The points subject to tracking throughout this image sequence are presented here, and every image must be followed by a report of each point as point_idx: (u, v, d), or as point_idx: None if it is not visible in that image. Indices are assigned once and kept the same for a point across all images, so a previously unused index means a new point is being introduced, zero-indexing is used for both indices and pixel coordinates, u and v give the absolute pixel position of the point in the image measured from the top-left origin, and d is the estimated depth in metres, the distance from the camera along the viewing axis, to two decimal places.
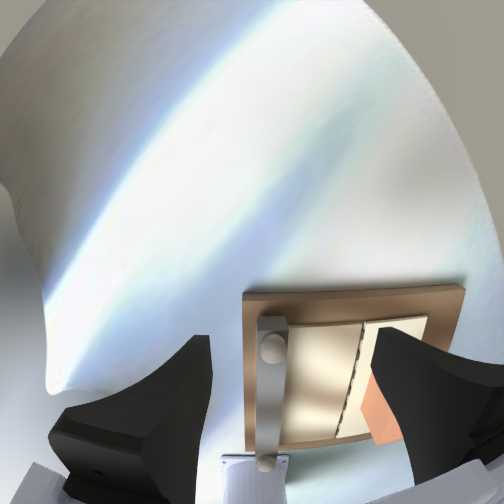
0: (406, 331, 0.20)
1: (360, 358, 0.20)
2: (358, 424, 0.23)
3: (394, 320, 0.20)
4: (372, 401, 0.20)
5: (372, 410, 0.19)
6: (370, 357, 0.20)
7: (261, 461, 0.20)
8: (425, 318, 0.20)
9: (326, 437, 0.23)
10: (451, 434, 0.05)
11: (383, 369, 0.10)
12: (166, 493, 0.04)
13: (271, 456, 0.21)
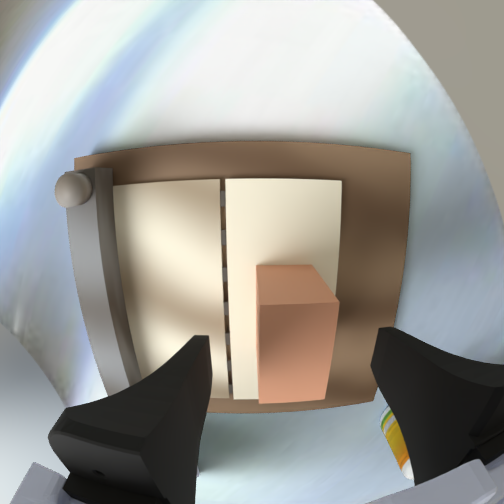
0: (305, 200, 0.14)
1: (229, 242, 0.15)
2: None
3: None
4: None
5: None
6: (247, 242, 0.15)
7: None
8: (338, 182, 0.14)
9: (217, 395, 0.17)
10: (451, 434, 0.05)
11: (383, 369, 0.10)
12: (166, 493, 0.04)
13: None
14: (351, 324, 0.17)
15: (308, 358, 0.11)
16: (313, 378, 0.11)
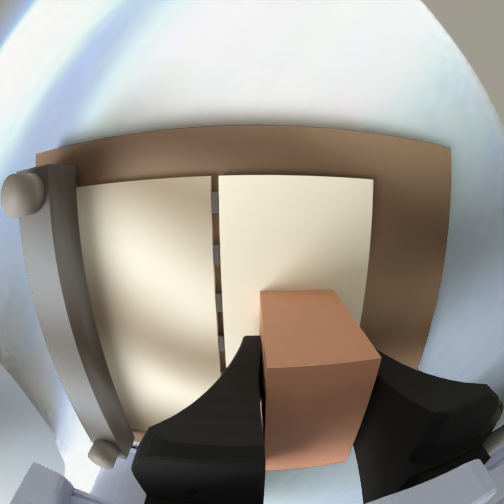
0: (326, 205, 0.10)
1: (223, 261, 0.11)
2: None
3: None
4: None
5: (261, 387, 0.10)
6: (248, 261, 0.11)
7: (92, 447, 0.11)
8: (368, 181, 0.10)
9: None
10: (393, 455, 0.05)
11: None
12: None
13: (109, 443, 0.11)
14: None
15: (332, 425, 0.07)
16: (335, 444, 0.07)
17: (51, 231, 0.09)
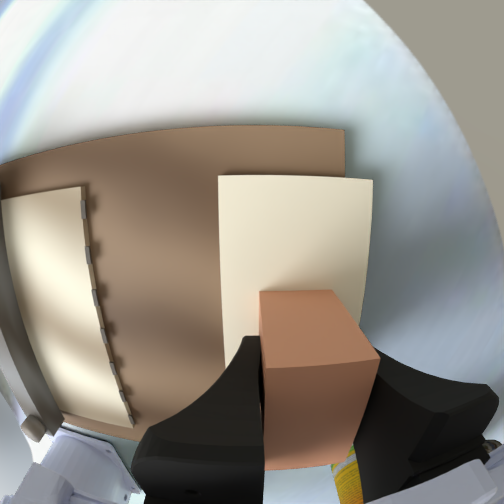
0: (326, 206, 0.10)
1: (223, 261, 0.11)
2: None
3: None
4: None
5: None
6: (247, 261, 0.11)
7: (24, 421, 0.11)
8: (368, 182, 0.10)
9: (120, 423, 0.13)
10: (393, 455, 0.05)
11: None
12: (262, 498, 0.04)
13: (37, 419, 0.11)
14: None
15: (330, 425, 0.07)
16: (334, 444, 0.07)
17: None
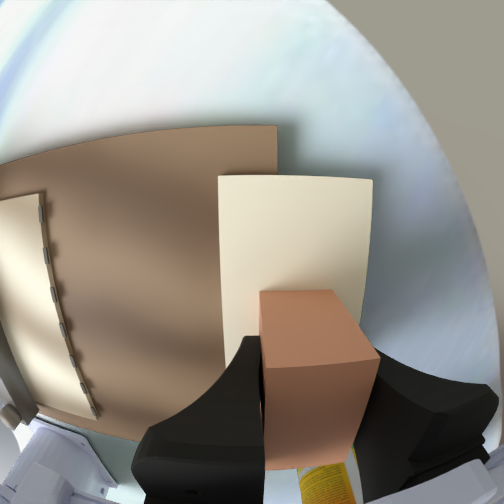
0: (325, 205, 0.10)
1: (223, 261, 0.11)
2: None
3: None
4: None
5: None
6: (247, 261, 0.11)
7: (2, 410, 0.11)
8: (368, 181, 0.10)
9: (85, 415, 0.13)
10: (393, 455, 0.05)
11: None
12: (262, 499, 0.04)
13: (13, 408, 0.11)
14: (206, 365, 0.13)
15: (330, 425, 0.07)
16: (334, 444, 0.07)
17: None
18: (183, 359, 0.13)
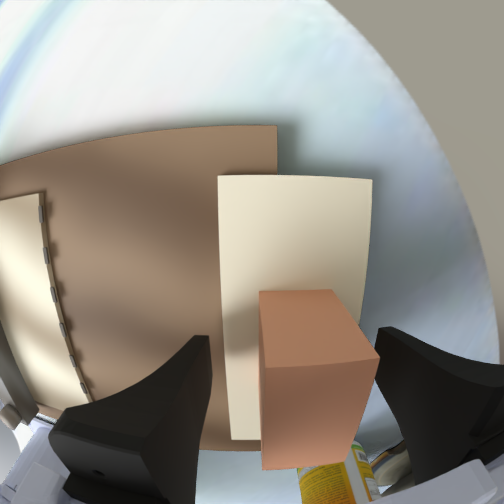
0: (325, 205, 0.10)
1: (223, 260, 0.11)
2: None
3: (288, 175, 0.10)
4: None
5: (260, 387, 0.10)
6: (247, 261, 0.11)
7: (2, 409, 0.11)
8: (367, 181, 0.10)
9: None
10: (451, 434, 0.05)
11: (383, 369, 0.10)
12: (166, 492, 0.04)
13: (13, 408, 0.11)
14: None
15: (330, 425, 0.07)
16: (334, 444, 0.07)
17: None
18: None
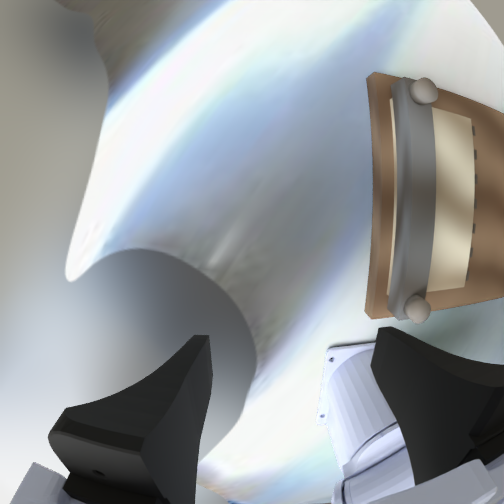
0: None
1: None
2: None
3: None
4: None
5: None
6: None
7: (413, 302, 0.16)
8: None
9: (458, 284, 0.18)
10: (451, 434, 0.05)
11: (383, 369, 0.10)
12: (166, 493, 0.04)
13: (420, 296, 0.16)
14: None
15: None
16: None
17: (432, 118, 0.14)
18: None
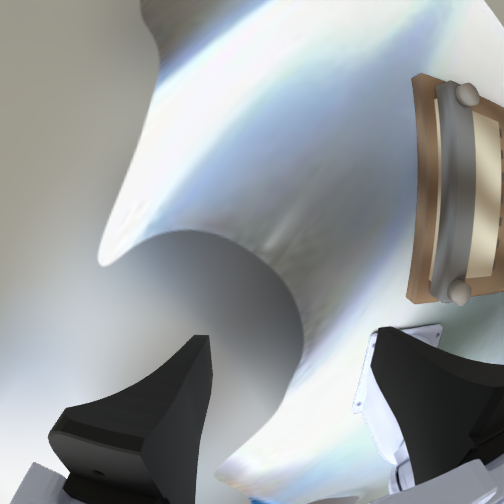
0: None
1: None
2: None
3: None
4: None
5: None
6: None
7: (457, 285, 0.16)
8: None
9: (486, 273, 0.18)
10: (451, 434, 0.05)
11: (383, 369, 0.10)
12: (166, 493, 0.04)
13: (461, 281, 0.16)
14: None
15: None
16: None
17: (472, 119, 0.13)
18: None
